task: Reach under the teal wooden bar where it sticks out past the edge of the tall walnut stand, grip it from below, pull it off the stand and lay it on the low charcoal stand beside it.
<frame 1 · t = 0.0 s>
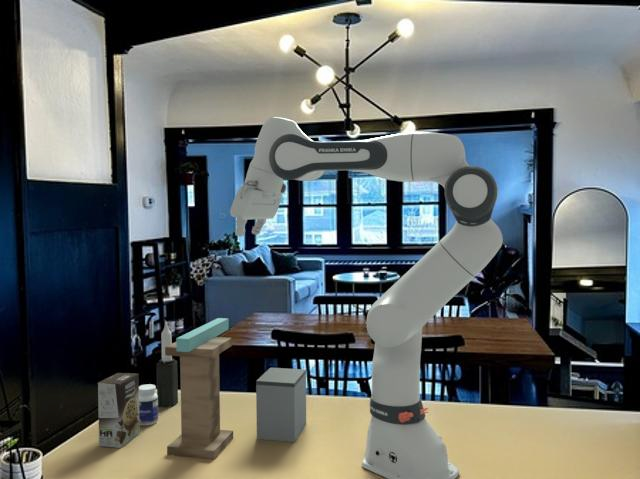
hand: (247, 234, 136), 52 cm above the kitchen counter, tool tilted 20°, fingers open, 8 cm apart
walnut stand: (201, 446, 135), on the kitchen counter
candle: (167, 404, 165), on the kitchen counter
pill bottle: (147, 422, 150), on the kitchen counter
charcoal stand: (282, 431, 144), on the kitchen counter
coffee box: (120, 440, 139), on the kitchen counter
teal bar: (204, 339, 136), point 26 cm above the kitchen counter, touching walnut stand
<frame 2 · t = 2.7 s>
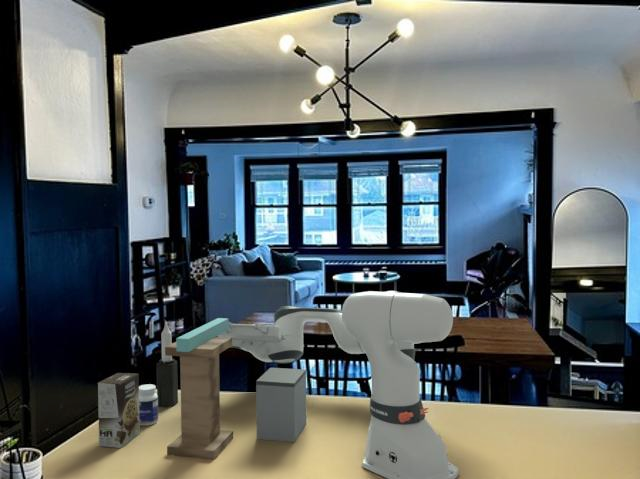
hand: (242, 324, 162), 24 cm above the kitchen counter, tool pointing upward, fingers open, 8 cm apart
nothing on the kitchen counter moved.
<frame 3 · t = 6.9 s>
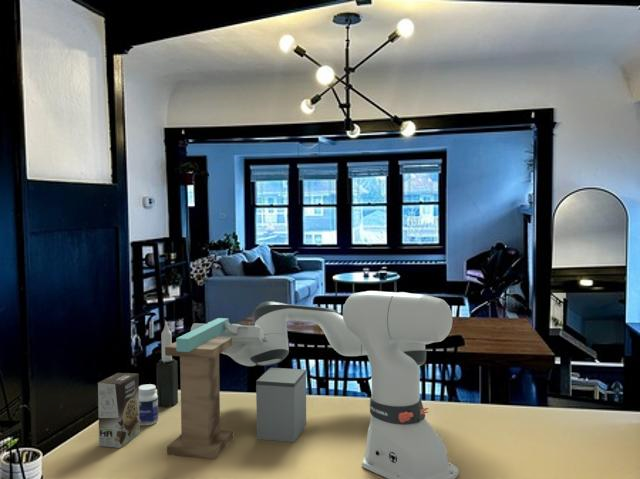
hand: (217, 325, 144), 28 cm above the kitchen counter, tool pointing upward, fingers closed on teal bar, 3 cm apart
teal bar: (204, 339, 136), point 26 cm above the kitchen counter, touching gripper, walnut stand
everything else where it was.
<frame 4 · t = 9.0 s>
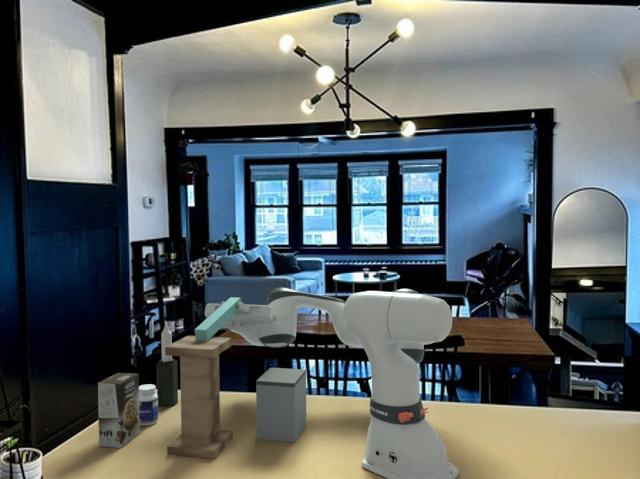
hand: (231, 304, 154), 32 cm above the kitchen counter, tool pointing upward, fingers closed on teal bar, 3 cm apart
teal bar: (220, 322, 146), point 28 cm above the kitchen counter, tilted 10°, touching gripper
everything else where it was.
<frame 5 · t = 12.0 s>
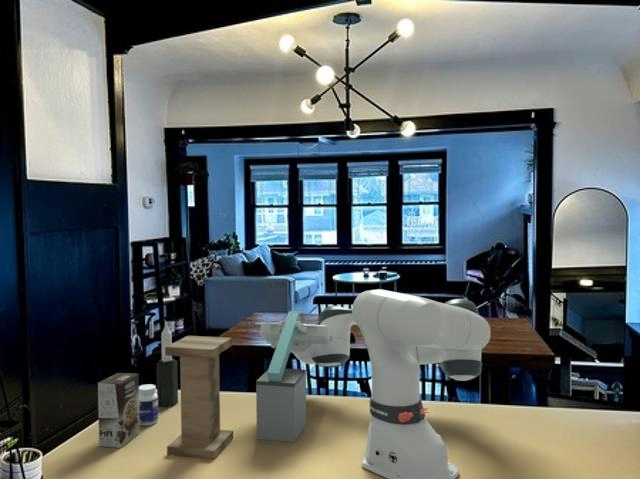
hand: (289, 324, 151), 27 cm above the kitchen counter, tool pointing upward, fingers closed on teal bar, 3 cm apart
teal bar: (285, 348, 148), point 21 cm above the kitchen counter, tilted 29°, touching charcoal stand, gripper
everything else where it was.
when the fingers open (19 cm above the kitchen counter, at t = 13.6 s): teal bar stays where it is, resting on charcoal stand.
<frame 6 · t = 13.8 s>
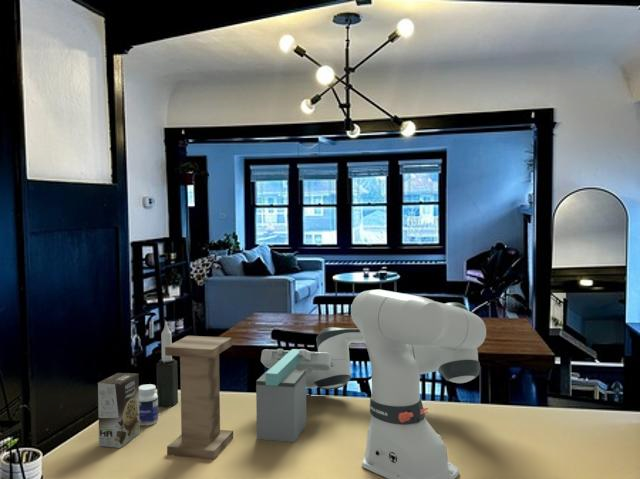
hand: (290, 352, 151), 19 cm above the kitchen counter, tool pointing upward, fingers open, 5 cm apart
teal bar: (285, 371, 146), point 15 cm above the kitchen counter, touching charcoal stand
everything else where it was.
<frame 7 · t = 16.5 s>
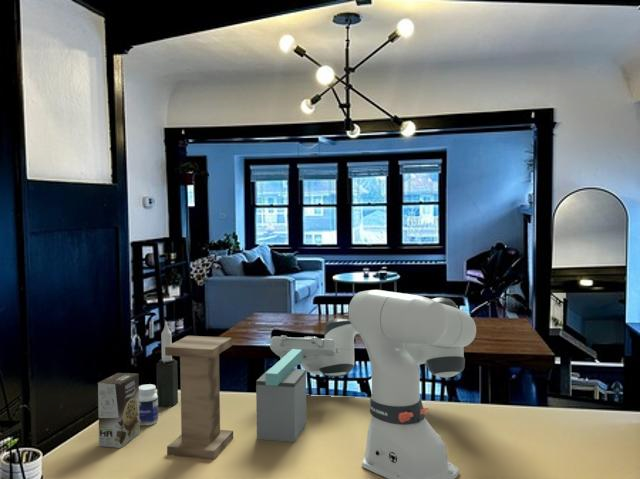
hand: (298, 338, 161), 20 cm above the kitchen counter, tool pointing upward, fingers open, 8 cm apart
nothing on the kitchen counter moved.
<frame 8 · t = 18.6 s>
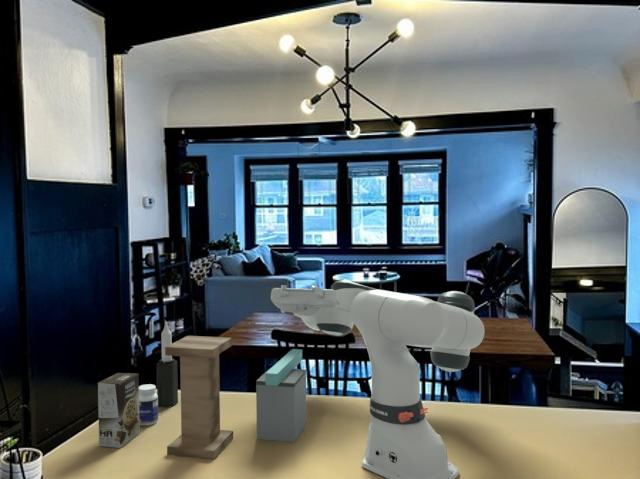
hand: (298, 288, 160), 35 cm above the kitchen counter, tool pointing upward, fingers open, 8 cm apart
nothing on the kitchen counter moved.
at the end: teal bar inside the target area on the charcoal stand (3.3 cm from its centre), point 15.0 cm above the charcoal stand's base; teal bar tilted 0°; the gripper is holding nothing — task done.
